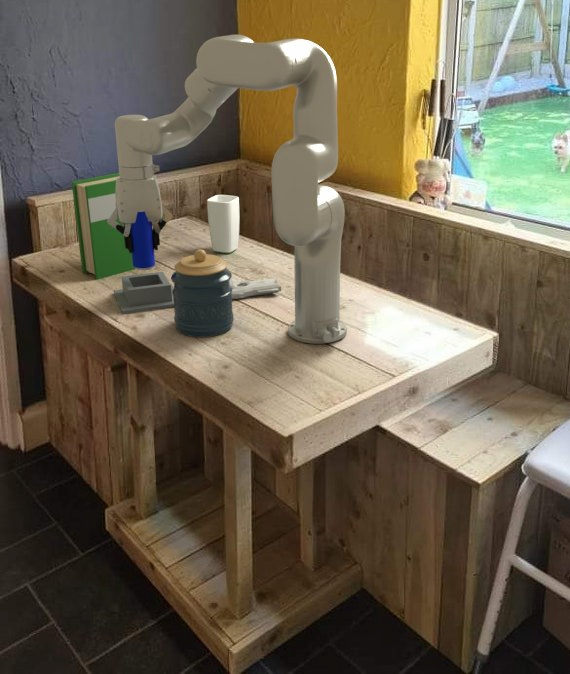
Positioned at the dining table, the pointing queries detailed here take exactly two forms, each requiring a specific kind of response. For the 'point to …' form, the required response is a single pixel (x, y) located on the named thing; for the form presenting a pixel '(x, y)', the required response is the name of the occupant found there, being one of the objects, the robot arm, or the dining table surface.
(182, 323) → the canister
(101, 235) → the hardback book
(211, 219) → the cup
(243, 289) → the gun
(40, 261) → the dining table surface
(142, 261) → the beverage can
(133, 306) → the holder
